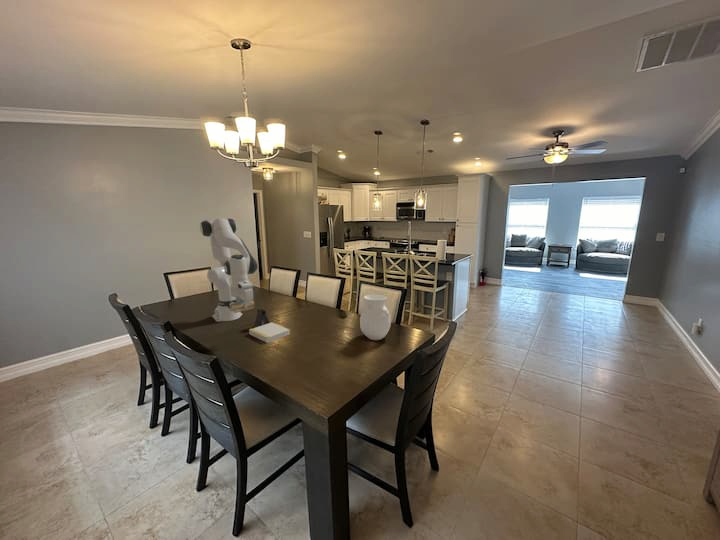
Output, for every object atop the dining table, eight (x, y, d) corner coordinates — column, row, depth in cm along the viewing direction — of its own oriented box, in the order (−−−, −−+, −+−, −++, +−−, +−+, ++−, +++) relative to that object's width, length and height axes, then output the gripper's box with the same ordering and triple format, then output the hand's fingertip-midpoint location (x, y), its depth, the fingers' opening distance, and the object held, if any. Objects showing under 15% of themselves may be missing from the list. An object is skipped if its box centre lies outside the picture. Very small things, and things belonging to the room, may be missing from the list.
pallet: (230, 310, 164) (229, 304, 163) (249, 305, 173) (249, 299, 172) (235, 313, 160) (234, 306, 159) (254, 307, 169) (254, 301, 168)
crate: (237, 302, 166) (236, 296, 165) (243, 301, 169) (243, 294, 168) (240, 304, 163) (239, 297, 162) (247, 302, 166) (246, 296, 165)
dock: (249, 334, 178) (249, 329, 178) (271, 326, 190) (271, 321, 190) (267, 342, 165) (266, 337, 165) (290, 334, 177) (289, 329, 177)
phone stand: (258, 329, 185) (256, 312, 183) (254, 327, 189) (252, 310, 187) (270, 325, 191) (269, 308, 189) (266, 323, 196) (265, 307, 193)
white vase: (374, 328, 185) (374, 291, 180) (397, 336, 172) (397, 296, 167) (353, 337, 172) (352, 297, 167) (376, 346, 159) (376, 303, 154)
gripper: (226, 281, 168) (228, 304, 170) (243, 286, 155) (245, 311, 157) (236, 279, 173) (239, 301, 175) (254, 284, 159) (256, 308, 162)
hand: (242, 306), depth 166 cm, fingers closed on pallet, 6 cm apart
